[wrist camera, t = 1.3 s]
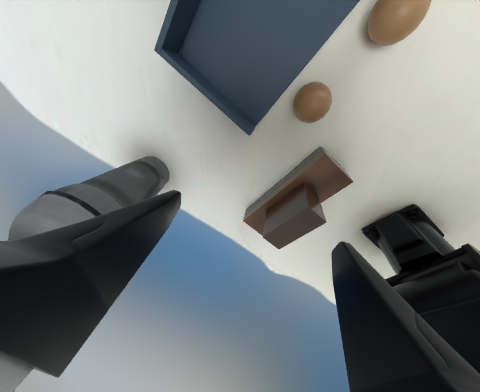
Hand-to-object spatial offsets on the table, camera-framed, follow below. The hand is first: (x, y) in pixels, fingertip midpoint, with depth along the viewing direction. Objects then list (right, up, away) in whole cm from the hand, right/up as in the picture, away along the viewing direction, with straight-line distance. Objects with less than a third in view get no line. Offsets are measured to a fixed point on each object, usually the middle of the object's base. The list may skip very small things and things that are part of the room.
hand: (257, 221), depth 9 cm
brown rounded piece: (+5, +10, +6) cm, 13 cm away
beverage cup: (-13, +5, +16) cm, 21 cm away
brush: (+6, +2, +13) cm, 15 cm away
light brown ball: (+10, +14, +2) cm, 17 cm away
